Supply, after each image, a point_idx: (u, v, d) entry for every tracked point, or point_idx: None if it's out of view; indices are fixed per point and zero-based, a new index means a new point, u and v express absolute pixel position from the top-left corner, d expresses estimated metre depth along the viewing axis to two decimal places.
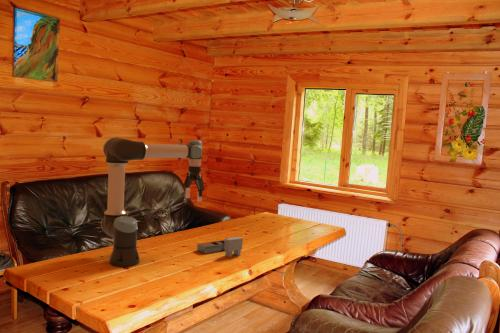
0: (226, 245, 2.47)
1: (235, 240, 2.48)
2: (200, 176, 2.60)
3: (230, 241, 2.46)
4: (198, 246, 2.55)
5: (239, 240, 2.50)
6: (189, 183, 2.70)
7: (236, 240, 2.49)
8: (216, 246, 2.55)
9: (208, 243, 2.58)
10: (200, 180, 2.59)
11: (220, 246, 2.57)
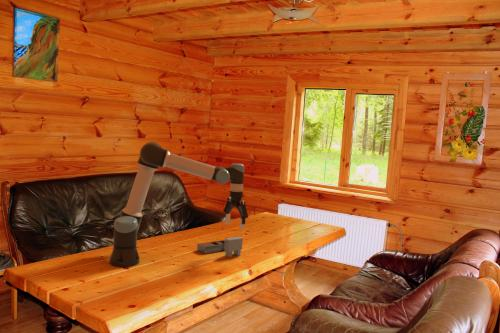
0: (226, 245, 2.47)
1: (235, 240, 2.48)
2: (243, 202, 2.43)
3: (230, 241, 2.46)
4: (198, 246, 2.55)
5: (239, 240, 2.50)
6: (230, 209, 2.52)
7: (236, 240, 2.49)
8: (216, 246, 2.55)
9: (208, 243, 2.58)
10: (243, 207, 2.42)
11: (220, 246, 2.57)
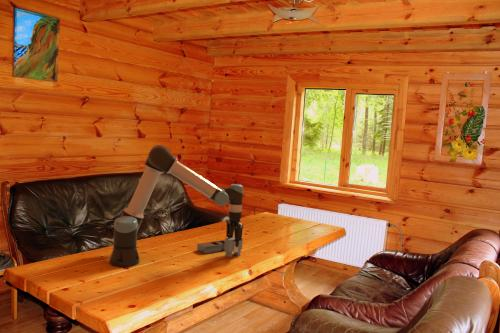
0: (226, 245, 2.47)
1: None
2: (241, 226, 2.44)
3: (230, 241, 2.46)
4: (198, 246, 2.55)
5: None
6: (231, 232, 2.51)
7: None
8: (216, 246, 2.55)
9: (208, 243, 2.58)
10: (240, 230, 2.45)
11: (220, 246, 2.57)
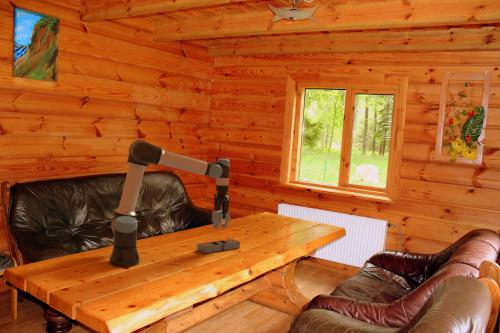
0: (213, 217, 2.57)
1: None
2: (228, 199, 2.54)
3: (217, 213, 2.55)
4: (198, 246, 2.55)
5: (226, 213, 2.60)
6: (219, 205, 2.61)
7: None
8: (216, 246, 2.55)
9: (208, 243, 2.58)
10: (226, 202, 2.54)
11: (220, 246, 2.57)
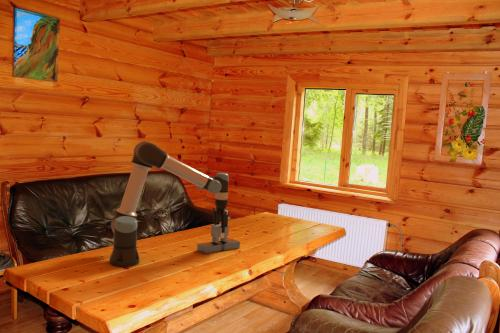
0: (213, 231, 2.57)
1: None
2: (227, 213, 2.55)
3: (216, 227, 2.56)
4: (198, 246, 2.55)
5: (225, 227, 2.61)
6: (218, 219, 2.61)
7: None
8: (216, 246, 2.55)
9: (208, 243, 2.58)
10: (226, 217, 2.55)
11: (220, 246, 2.57)
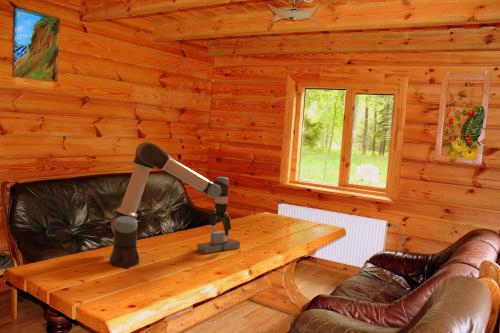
0: (212, 238, 2.58)
1: (221, 234, 2.59)
2: (227, 215, 2.54)
3: (216, 235, 2.57)
4: (198, 246, 2.55)
5: None
6: (215, 220, 2.63)
7: (222, 234, 2.59)
8: (216, 246, 2.55)
9: (208, 243, 2.58)
10: (227, 219, 2.54)
11: (220, 246, 2.57)
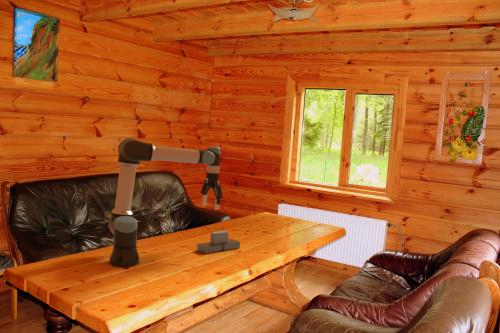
0: (212, 238, 2.58)
1: (221, 234, 2.59)
2: (218, 183, 2.54)
3: (216, 235, 2.57)
4: (198, 246, 2.55)
5: (225, 234, 2.61)
6: (206, 190, 2.64)
7: (222, 234, 2.59)
8: (216, 246, 2.55)
9: (208, 243, 2.58)
10: (218, 187, 2.54)
11: (220, 246, 2.57)
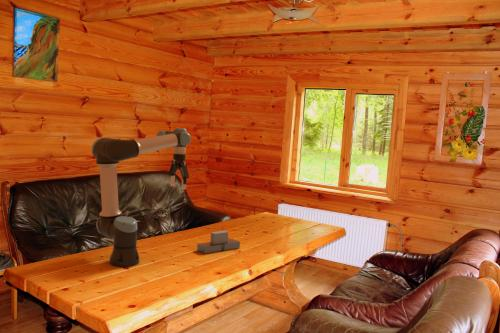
0: (212, 238, 2.58)
1: (221, 234, 2.59)
2: (184, 164, 2.60)
3: (216, 235, 2.57)
4: (198, 246, 2.55)
5: (225, 234, 2.61)
6: (174, 171, 2.69)
7: (222, 234, 2.59)
8: (216, 246, 2.55)
9: (208, 243, 2.58)
10: (184, 167, 2.59)
11: (220, 246, 2.57)
